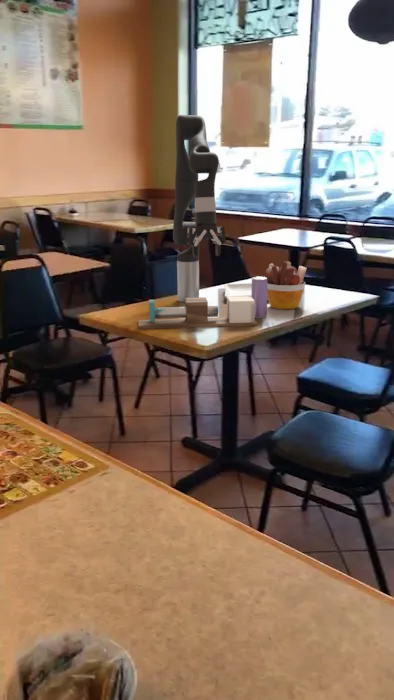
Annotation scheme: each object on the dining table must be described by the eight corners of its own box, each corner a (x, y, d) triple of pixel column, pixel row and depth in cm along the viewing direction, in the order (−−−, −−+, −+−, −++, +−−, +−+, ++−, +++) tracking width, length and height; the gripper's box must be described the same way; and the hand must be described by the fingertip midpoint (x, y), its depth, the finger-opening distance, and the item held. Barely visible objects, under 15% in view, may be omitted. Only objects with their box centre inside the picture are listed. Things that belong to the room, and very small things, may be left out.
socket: (226, 317, 239) (226, 296, 237) (250, 317, 239) (250, 296, 237) (229, 323, 231) (229, 301, 228) (254, 322, 231) (254, 300, 229)
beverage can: (265, 318, 241) (266, 279, 237) (250, 317, 242) (250, 278, 238) (267, 315, 247) (268, 276, 242) (252, 314, 248) (252, 276, 244)
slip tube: (149, 321, 230) (148, 302, 228) (149, 318, 235) (148, 299, 233) (218, 319, 232) (218, 300, 230) (216, 316, 236) (216, 297, 234)
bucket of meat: (266, 301, 271) (267, 254, 265) (305, 302, 267) (307, 255, 262) (261, 311, 252) (262, 261, 247) (303, 313, 249) (305, 262, 243)
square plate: (224, 291, 295) (224, 283, 294) (283, 291, 294) (283, 283, 293) (224, 303, 269) (224, 294, 268) (289, 303, 268) (289, 294, 267)
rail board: (138, 322, 237) (137, 298, 235) (252, 319, 240) (253, 295, 238) (138, 328, 228) (137, 304, 225) (257, 325, 231) (257, 301, 228)
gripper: (219, 210, 233) (220, 255, 237) (182, 211, 228) (184, 257, 231) (227, 209, 226) (229, 255, 230) (190, 210, 221) (192, 257, 224)
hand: (206, 256), depth 230 cm, fingers open, 8 cm apart
